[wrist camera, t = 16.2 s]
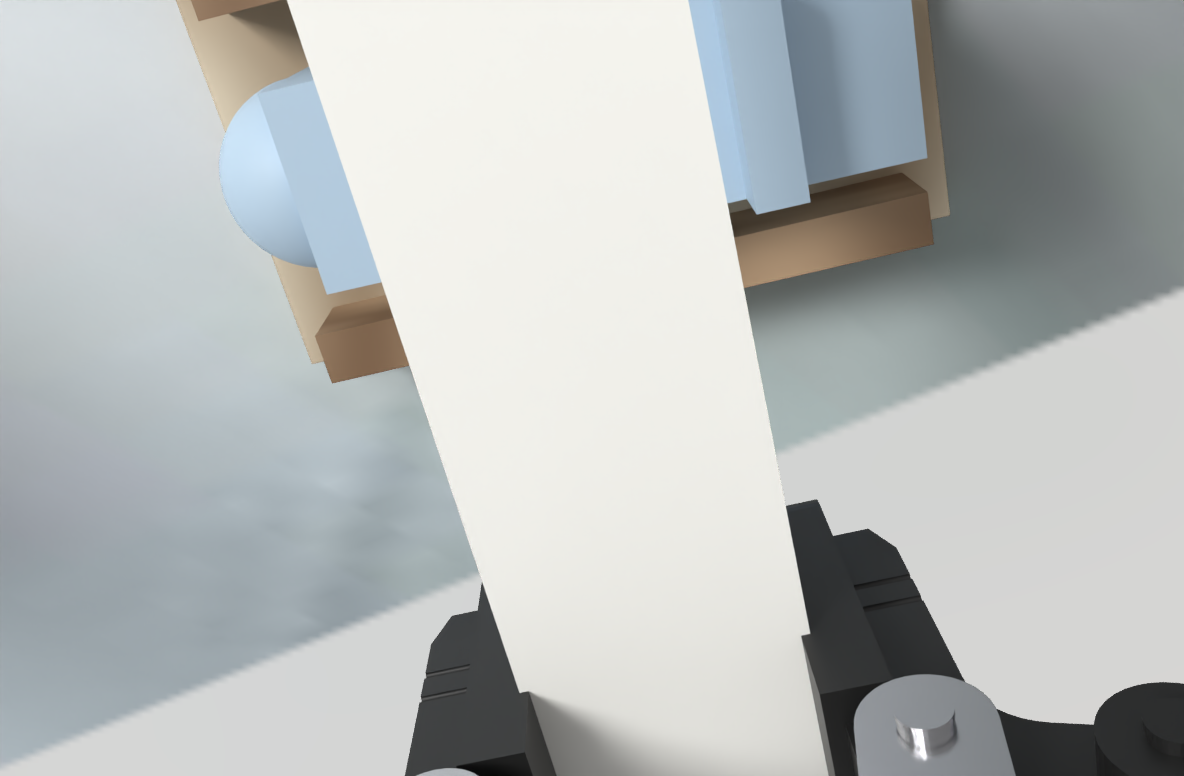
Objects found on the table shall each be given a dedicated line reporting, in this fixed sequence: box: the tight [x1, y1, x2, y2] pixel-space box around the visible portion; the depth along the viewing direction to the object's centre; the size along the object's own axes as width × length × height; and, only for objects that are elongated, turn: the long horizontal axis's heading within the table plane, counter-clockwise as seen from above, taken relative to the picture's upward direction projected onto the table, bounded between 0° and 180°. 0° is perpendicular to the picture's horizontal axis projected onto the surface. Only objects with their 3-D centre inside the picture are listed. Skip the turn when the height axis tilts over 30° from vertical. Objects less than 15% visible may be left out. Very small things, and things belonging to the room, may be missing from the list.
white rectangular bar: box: [287, 0, 829, 776], centre depth 11 cm, size 3×16×4 cm, turn 13°
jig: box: [176, 0, 950, 383], centre depth 24 cm, size 16×10×3 cm, turn 103°
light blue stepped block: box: [219, 0, 927, 295], centre depth 22 cm, size 14×4×6 cm, turn 103°
